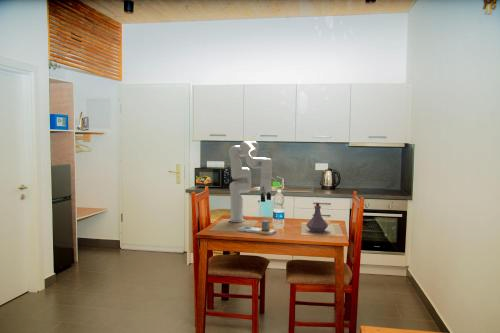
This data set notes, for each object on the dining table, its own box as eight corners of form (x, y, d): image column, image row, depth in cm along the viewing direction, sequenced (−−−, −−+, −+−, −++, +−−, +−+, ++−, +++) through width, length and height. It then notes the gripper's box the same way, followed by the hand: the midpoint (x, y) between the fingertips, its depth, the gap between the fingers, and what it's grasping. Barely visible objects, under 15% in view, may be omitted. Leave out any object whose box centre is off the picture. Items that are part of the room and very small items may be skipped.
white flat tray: (243, 228, 288) (243, 225, 288) (276, 232, 277) (276, 229, 276) (237, 230, 280) (237, 228, 280) (270, 234, 268) (270, 232, 268)
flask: (302, 228, 289) (303, 201, 288) (324, 228, 292) (325, 201, 290) (309, 233, 273) (309, 205, 272) (332, 233, 275) (332, 204, 274)
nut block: (264, 231, 278) (264, 220, 277) (269, 232, 276) (269, 220, 276) (261, 232, 274) (261, 221, 274) (266, 233, 273) (267, 221, 272)
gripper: (266, 175, 282) (266, 198, 283) (255, 176, 267) (255, 202, 268) (276, 175, 279) (275, 199, 280) (266, 177, 263) (265, 203, 265)
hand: (265, 200), depth 274 cm, fingers open, 9 cm apart
